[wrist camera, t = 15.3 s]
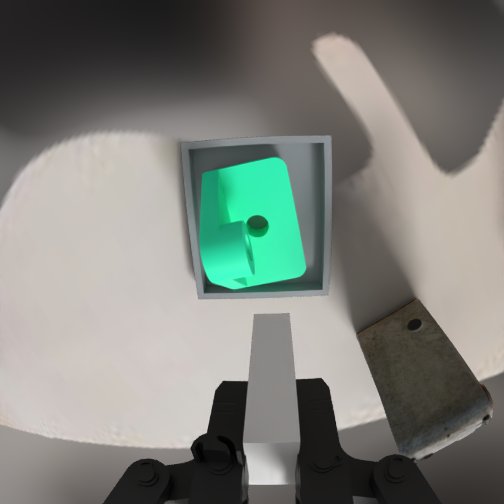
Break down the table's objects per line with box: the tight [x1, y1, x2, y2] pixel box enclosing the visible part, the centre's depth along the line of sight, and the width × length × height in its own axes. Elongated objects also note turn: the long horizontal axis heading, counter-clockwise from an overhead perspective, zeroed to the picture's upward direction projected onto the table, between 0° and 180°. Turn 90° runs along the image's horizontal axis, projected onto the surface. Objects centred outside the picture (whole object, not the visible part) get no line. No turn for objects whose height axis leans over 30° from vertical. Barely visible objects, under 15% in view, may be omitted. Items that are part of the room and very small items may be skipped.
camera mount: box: [199, 157, 306, 289], centre depth 27 cm, size 12×8×10 cm, turn 13°
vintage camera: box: [356, 299, 493, 464], centre depth 29 cm, size 10×16×20 cm, turn 33°
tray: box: [181, 136, 332, 299], centre depth 31 cm, size 14×16×2 cm
